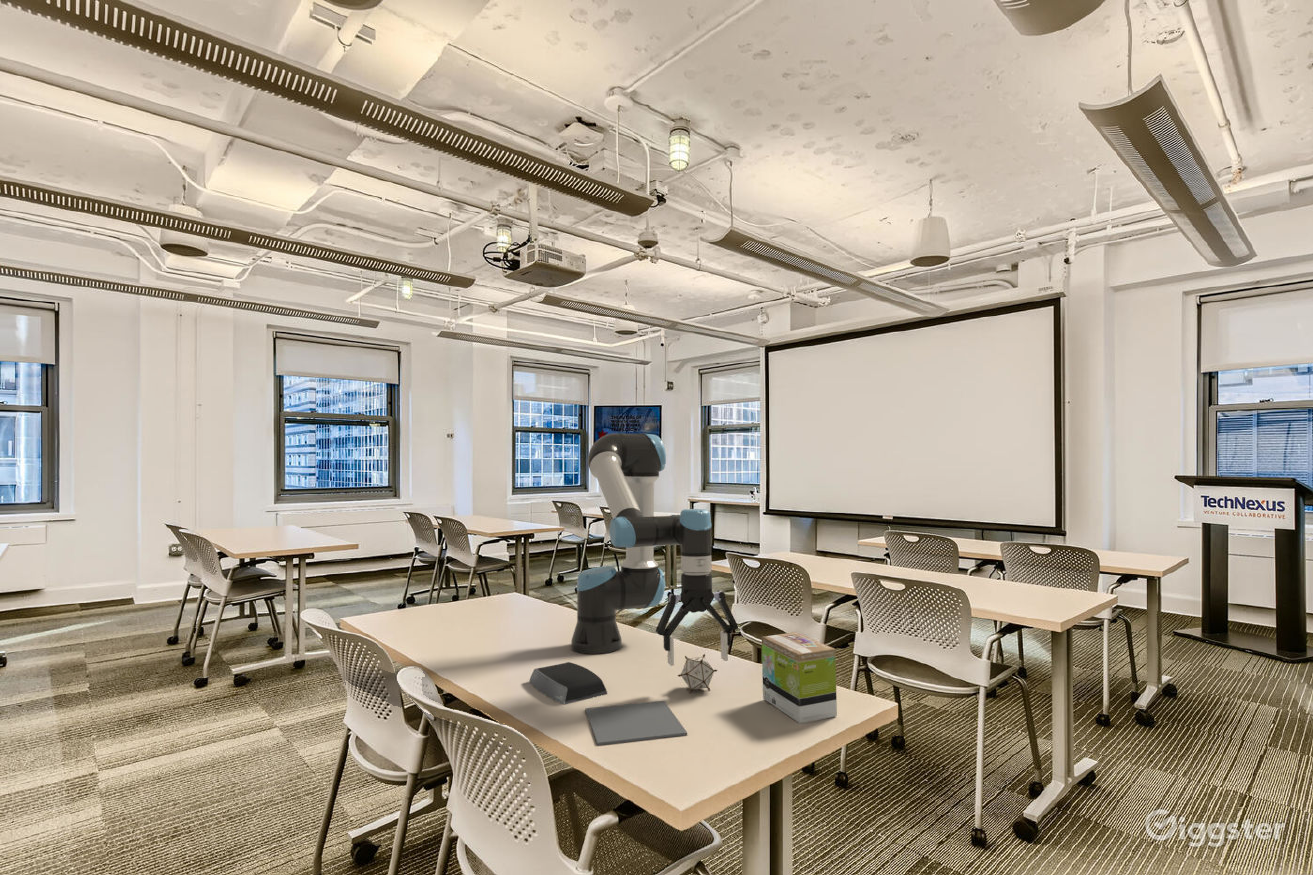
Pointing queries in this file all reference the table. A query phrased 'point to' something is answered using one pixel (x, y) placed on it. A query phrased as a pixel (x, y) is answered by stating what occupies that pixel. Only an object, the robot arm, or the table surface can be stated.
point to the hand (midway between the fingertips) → (697, 661)
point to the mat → (633, 722)
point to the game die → (697, 673)
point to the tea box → (799, 676)
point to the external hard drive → (567, 683)
